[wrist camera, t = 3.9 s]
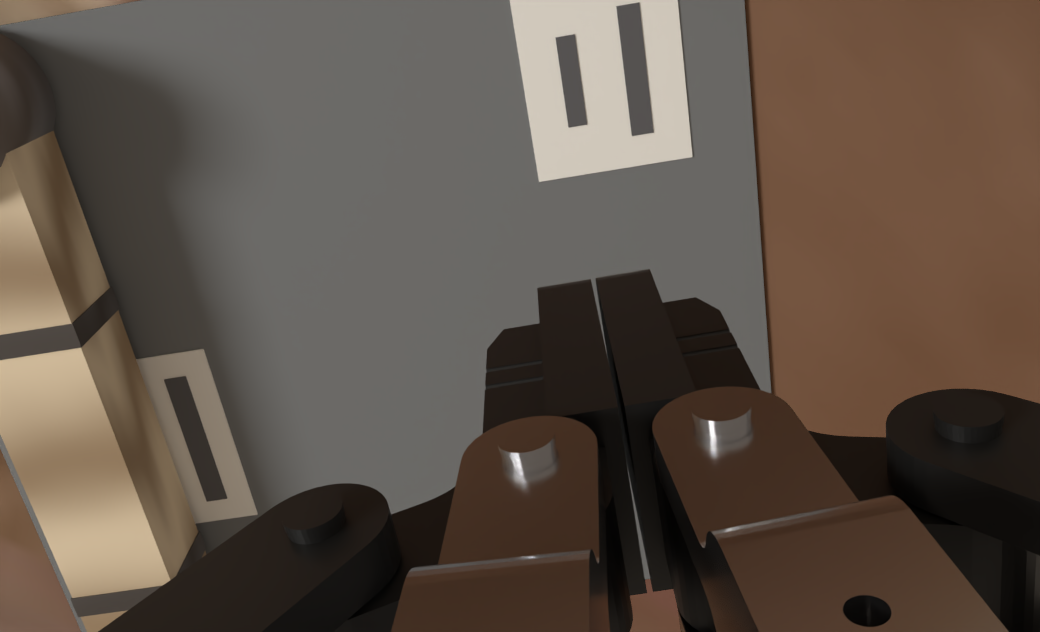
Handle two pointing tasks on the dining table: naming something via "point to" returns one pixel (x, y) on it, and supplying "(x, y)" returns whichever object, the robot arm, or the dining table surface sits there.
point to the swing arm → (76, 378)
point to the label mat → (387, 212)
